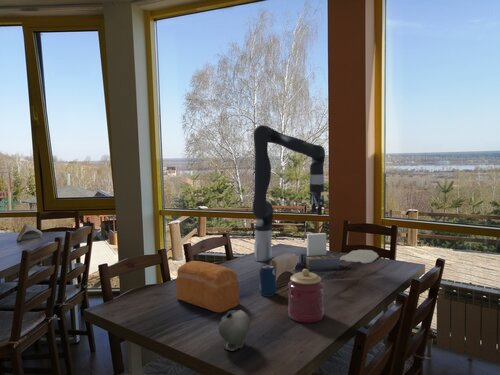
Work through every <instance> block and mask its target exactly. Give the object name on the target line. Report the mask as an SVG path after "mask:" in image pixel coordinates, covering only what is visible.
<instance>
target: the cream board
mask: <svg viewBox="0 0 500 375" xmlns="http://www.w3.org/2000/svg"><path fill="white" fill-rule="evenodd" d="M326 252H327V233H325V232H320V233H307V234H306V253H307V256H312V255H326Z"/></svg>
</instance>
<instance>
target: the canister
mask: <svg viewBox="0 0 500 375" xmlns="http://www.w3.org/2000/svg"><path fill="white" fill-rule="evenodd" d="M289 280H290V281H289V282H288V283H287V286H288V289H289V290H288V292H287V295H288V307H287V313H288V318H290V319H291V320H293V321H295V322H299V323H308V324H309V323H315V322H316V323H317V322H319V321H321V320H322V319H323V317H324V313H325V312H324V296H325V294H324V292H323V288H324V283H323V282H321V281H322V277H321V276H319V275H318V274H317V273H314V272H310V270H308V269H307V268H303V269H302V271H299V272H296V273H294V274H293V275H291V276H290V278H289Z"/></svg>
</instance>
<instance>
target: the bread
mask: <svg viewBox="0 0 500 375" xmlns="http://www.w3.org/2000/svg"><path fill="white" fill-rule="evenodd" d="M176 273H177V276H176V277H175V289H176V290H175V291H176V298H177V300H180V301H182V302H185V303H188V304H191V305H192V306H193V305H194V306H196V307H200V308H202V309H205V310H209V311H212V312H215V313H223V312H226V311H230V310H231V309H233V308H235V307H237V306H239V304H240V286H239V280H238V276H237V275H238V274H237V273H236V272H235V271H234V270H232V269H231V268H228V267H226V266H222V265H220V264H216V263H213V262H205V261H199V260H198V261H197V260H190V261H188V262H185V263H183V264H181V265H180V266H179V267H178V269H177V272H176Z"/></svg>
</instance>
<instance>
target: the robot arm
mask: <svg viewBox="0 0 500 375" xmlns="http://www.w3.org/2000/svg"><path fill="white" fill-rule="evenodd" d="M253 131H254V132H253V142H254V173H253V175H254V176H253V178H254V179H253V180H254V182H253V183H254V184H253V185H254V186H253V188H254V189H253V190H254V191H253V192H254V193H253V199H252V200H253V202H252V214H253V216H254V217H255V218H256V219H257V221H256V223H255V226H254V239H255V240H254V243H253V244H254V260H255V261H256V262H268V261H272V260H271V259H273V258H272V257H273V256H272V252H273V251H272V227H273V222H274V221H273V220H274V208H273V206H272V203H271V202H270V201H267V192H268V189H269V186H270V183H271V178H272V166H271V161H270V157H269V153H268V143H269V144H276V145H279V146H282V147H283V148H285V149H288V150H290V151H293V152H295V153H297V154H298V153H299V154H302V155H304V156H307V157H309V158H311V164H310V165H309V205H310V206H311V213H313V214H314V213H317V215H318V216H321V215H323V214H322V212H323V208H324V207H325V201H324V200H325V198H324V197H325V196H324V194H323V195H322V193H324V192H325V189H324V188H325V178H324V177H325V175H324V166H325V165H324V164H325V158H326V150H325V148H324V146H322V145H321V144H320V145H319V144H314V143H310V142H308V141H306V140H304V139H301V138H297V137H294V136H290V135H287V134H284V133H281V132H279V131H277V130H276V129H273V128H272V127H270V126H268V125H261V124H260V125H257V126H256V127H255V129H254V130H253Z"/></svg>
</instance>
